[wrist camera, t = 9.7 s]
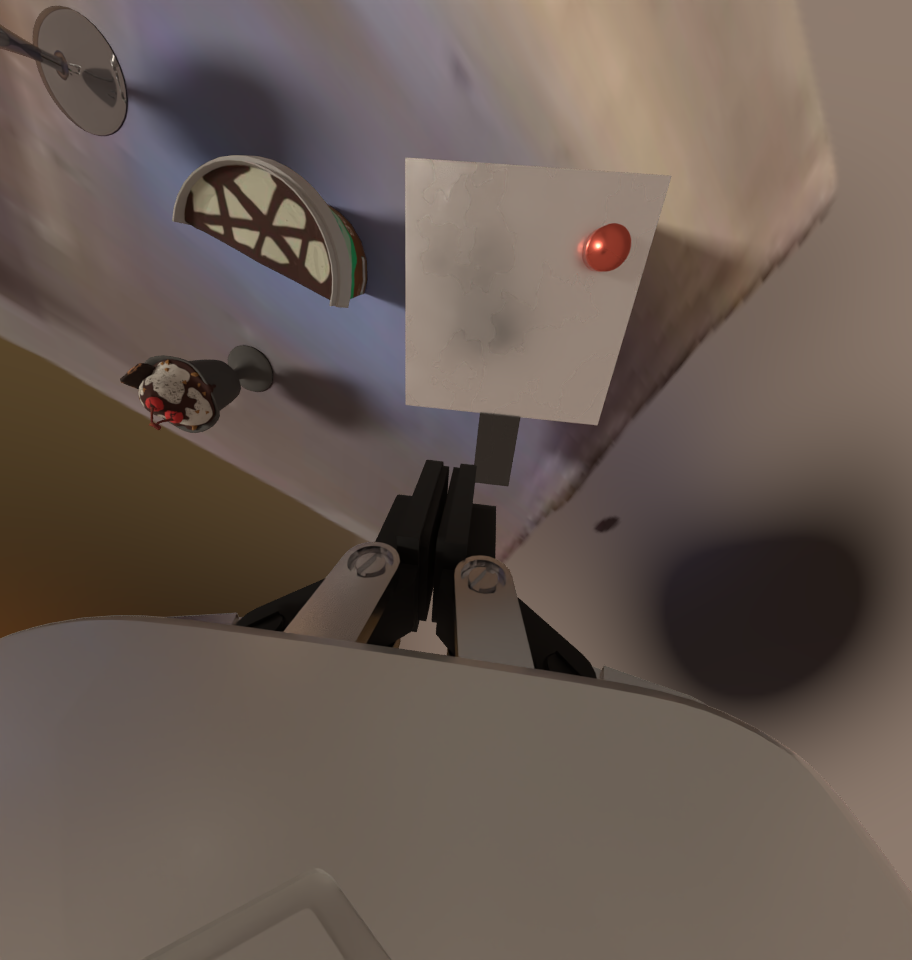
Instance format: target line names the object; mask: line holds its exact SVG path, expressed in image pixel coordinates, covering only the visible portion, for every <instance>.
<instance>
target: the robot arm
mask: <svg viewBox="0 0 912 960" xmlns="http://www.w3.org/2000/svg"><path fill="white" fill-rule="evenodd" d="M476 469H477V465H468V464H461V465H460V468H457V467H454V469H453V473H452V477H451V481H450V486H449V490H448V477H449V467H448V466H443V462H442V461H433V460H426V463H425V465H424V468H423V470H422V473H421V475H420V478H419V480H418V483H417V485H416V488H415V490H414V493H413V496H406V495H397V497H396V498H395V501H394V503H393V505H392V507H391V509H390V511H389V513H388V516H387V518H386V520H385V522H384V524H383V526H382V528H381V531H380V533H379V535H378V537H377V539H376V541H375V542H368V543H367V542H366V543H363V544H359V545H357V546H355V547H353V548H351V549H350V550H349V551H348V552H347V553H346V554H345V555H344V556H343V557H342V558H341V560H340V561H339V562H338V563H337V565H336V566H335V567H334V569H333V570H332V571H331V572H330V574H329V575H328V576H327V577H326V578H325V579H323V580H320V581H318V582H316V583H313V584H311V585H309V586H306V587H304V588H302V589H300V590H297V591H295V592H293V593H290V594H288V595H286V596H283V597H281V598H279V599H277V600H274V601H272V602H270V603H267V604H265V605H263V606H261V607H258V608H256V609H254V610H253V611H251V612H249V613H247V614H246V615H245V616H244V617H240V618H239V617H238V614H237V613H228V614H227V613H226V614H210V615H195V616H194V615H193V616H177V617H151V616H119V615H116V616H103V617H88V618H79V619H73V620H67V621H61V622H55V623H50V624H46V625H42V626H38V627H34V628H30V629H27V630H23V631H20V632H17V633H13V634H10V635H8V636H6V637H3V638H1V639H0V960H912V893H911V891H910V890H909V888H908V887H907V886H906V884H905V883H904V881H903V880H902V879H901V877H900V876H899V874H898V873H897V871H896V870H895V868H894V867H893V866H892V864H891V863H890V862H889V860H888V859H887V857H886V856H885V854H884V853H883V852H882V850H881V849H880V848H879V847H878V845H877V844H876V842H875V841H874V840H873V838H872V837H871V836H870V834H869V833H868V832H867V830H866V829H865V828H864V826H863V825H862V824H861V822H860V821H859V820H858V818H857V817H856V816H855V814H854V813H853V812H852V811H851V809H850V808H849V807H848V806H847V805H846V803H845V802H844V801H843V800H842V799H841V797H840V796H839V795H838V794H837V793H836V792H835V790H834V789H833V788H832V787H831V786H830V785H829V784H828V783H827V782H826V780H825V779H824V778H823V777H822V776H821V775H820V774H819V773H818V772H817V771H816V770H815V769H814V768H812V766H811V765H810V764H808V763H807V762H806V761H804V759H802V758H801V757H800V756H799V755H797V754H796V753H795V752H794V751H792V750H791V749H789V748H788V747H786V746H785V745H783V744H782V743H780V742H779V741H777V740H776V739H774V738H772V737H771V736H769V735H767V734H766V733H764V732H762V731H760V730H759V729H757V728H755V727H753V726H751V725H749V724H747V723H745V722H743V721H741V720H739V719H737V718H735V717H733V716H731V715H729V714H727V713H725V712H722V711H720V710H717V709H714V708H712V707H709V706H707V705H706V704H705V703H703V702H701V701H699V700H697V699H695V698H693V697H691V696H689V695H686V694H683V693H680V692H677V691H674V690H672V689H669V688H666V687H663V686H660V685H658V684H655V683H652V682H649V681H646V680H643V679H641V678H638V677H635V676H632V675H629V674H626V673H624V672H621V671H618V670H615V669H612V668H610V667H607V666H603V668H602V670H600V669H598V668H595V667H592V665H591V664H590V662H589V661H588V660H587V659H586V658H585V657H584V656H583V655H582V654H581V653H580V652H579V651H578V650H577V649H576V648H575V647H574V646H572V645H571V644H570V643H569V642H568V641H567V640H566V639H565V638H563V637H562V636H561V635H560V634H558V632H557V631H555V630H554V629H553V628H552V627H551V626H549V624H547V623H546V622H545V621H544V620H543V619H542V618H541V617H540V616H538V615H537V614H536V613H535V612H534V611H533V610H532V609H530V608H529V607H528V606H527V605H526V604H525V603H524V602H523V601H521V600H520V599H519V598H518V597H517V594H516V590H515V586H514V581H513V577H512V575H511V572H510V570H509V569H508V568H507V567H506V565H505V564H503V563H502V562H500V561H499V560H497V559H495V542H496V506H489V505H481V504H473V495H474V486H475V478H476ZM447 491H448V494H447ZM433 587H434V589H433ZM432 592H433V608H432V622H436V623H437V627H436V635H437V636H438V637H439V638H440V640H441V641H442V642H443V643H444V644H445V646H446V647H447V656H446V655H439V654H433V653H425V652H419V651H412V650H405V649H399V646H400V642H401V637H403V636H405V635H406V634H408V633H410V632H411V631H413V632H417V629H418V624H419V620H421V621H426V619H427V615H428V611H429V605H430V601H431V596H432Z"/></svg>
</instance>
